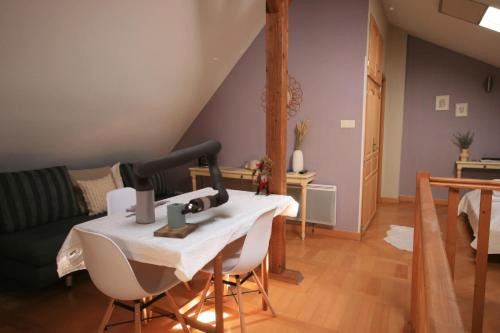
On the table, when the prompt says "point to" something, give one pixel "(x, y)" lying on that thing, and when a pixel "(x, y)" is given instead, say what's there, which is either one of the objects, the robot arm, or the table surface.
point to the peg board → (176, 231)
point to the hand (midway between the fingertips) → (176, 211)
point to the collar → (176, 216)
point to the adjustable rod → (154, 202)
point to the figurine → (263, 175)
